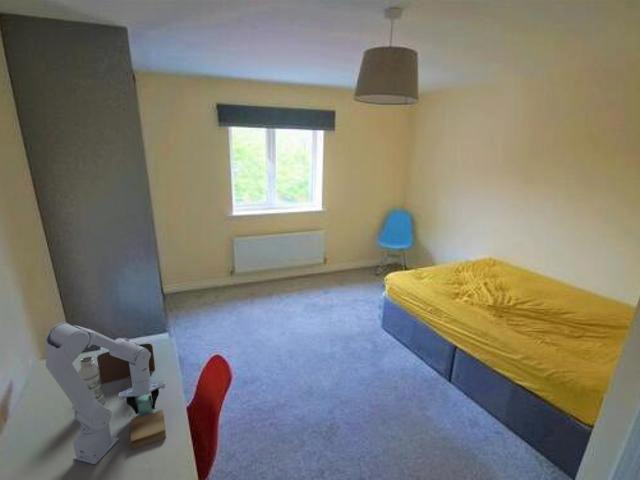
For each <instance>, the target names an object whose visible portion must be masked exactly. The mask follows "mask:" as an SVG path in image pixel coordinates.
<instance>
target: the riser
mask: <svg viewBox="0 0 640 480" xmlns="http://www.w3.org/2000/svg"><path fill="white" fill-rule="evenodd" d="M165 423H166V422H165V414H164V409H161V410H158V411H155V412H154V411H153V413H151V414H148V415H145V416H141V417H139V416H137V417H134V418H132V419H130V446H131V450H133V449H136V448H139V447H142V446H145V445H148V444H151V443H154V442H157V441H159V440H162V439H165V438H167V434H166V424H165Z"/></svg>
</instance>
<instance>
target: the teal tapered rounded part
mask: <svg viewBox="0 0 640 480" xmlns="http://www.w3.org/2000/svg"><path fill="white" fill-rule="evenodd" d="M136 403H137V410H138V414H137V415H138V416H137V417H141V416H145V415H148V414H151V413H154V409H153V406H152V396H151V395H150V394H149V393H147V394H145V395H142V396H138V397H137V399H136Z"/></svg>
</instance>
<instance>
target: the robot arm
mask: <svg viewBox="0 0 640 480" xmlns="http://www.w3.org/2000/svg"><path fill="white" fill-rule="evenodd" d="M44 342H45V346H46V353H45V367H46V369H47V370H48V371H49V373H50V374H51V376H52V377H53V379H54V380H55V381H56V384H58V386H59V387H60V388H61V390H62V391H63V393H64V394H65V395H66V397H67V398H68V399H69V401H70V402H71V404H72V405H73V406H72V407H71V408H72V409H73V411H74V413H73V415H74V419H75V420H76V421H78V422H80V430H79V431H80V432H79V433H78V435H77V436H76V437H75V439H73V442H72V444H73V450H74V457H73V458H74V460H77V461H80V462H81V461H82V462H84V463H87V464H88V463H89V464H92V465H95V464H97V463H98V462H99V461H100V460H101V459H102V458H103V457H104V456H105V455H106V454H107V453H108V452H109V451H110V449H112V448H113V447H114V446H115V444H117V443H118V441H119V440H120V438H119V437H115V436H112V433H111V427H110V422H111V420H112V416H113V413H112V411H111V410H110V409H108V408H106V407H104V404H103V405H101V404H100V403H99V402H98V401H97V400H96V399H95V398H94V396H93V395H92V393H91V392H90V390H89V389H88V387H87V386H86V384H85V383H84V381H83V380H82V378H81V376H80V375H79V373H78V372H79V371H78V370H77V369H76V367H75V366H74V365H73V363H74V362H75V361H76V359H77V358H78V357H79V356H80V355H81V353H82V352H83V351H84V350H85V349H86V348H87V349H89V348H90V347H92V346H93V345H94V346H97V347H100V348H102V349H106V350H108V352H109V353H110V355H111V356H114V357H117V358H120V359H123V360H125V361H129V367H130V373H131V377H130V380H131V386H132V387H129V388H128V389H126V390H123V391H121V392H118V401H119V402H121V401H123V400H124V399H126V403H127V405H128V406H130V408H132V409H133V411H134V414H135V415H138V410H137V403H136V400H137V399H136V398H137V397H140V396H142V395H146V394H149V393H150V394H151V398H152V406H153V410H155V409H156V402H157V400H158V397H159V395H160V391H159V390H160V389H166V382H165V381H166V380H161V381H152V380H151V374H150V373H151V372H149V359H150V357H151V353H150V352H149V350H148V349H146V348H144V347H141V346H139V345H140V343H137V342H131V341H130V339H129V338H127V337H120V338H116V339H112V338H110V337H108V336H106V335H103V334H102V333H99V332H98V331H96V330H93V329H91V328H86V327H84V326H79V325H75V324H74V325H71V323H68V322H60V323H59V322H58V323H57V324H55V325H54V326H53V327H52V328H51V329H50V330H49V331H48V334H47V336H46V337H45V338H44Z"/></svg>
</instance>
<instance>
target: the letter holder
mask: <svg viewBox="0 0 640 480" xmlns="http://www.w3.org/2000/svg"><path fill="white" fill-rule="evenodd" d="M139 346H141V347H144V348H146V349H148V350H149V352H150V353H151V357H150V359H149V373H152V372H155V371H156V366H155V354H154V349H153V348H154V346H153V344H151V343H139ZM96 357H97V358H96V360H97V366H98V368H99V370H100V385H105V384H107V383H113V382H116V381H120V380H124V379H127V378H131V373H130V367H129V361H125V360H123V359H120V358H117V357H114V356H111V355H110V353H109V351H106V352H103V353H101V354H98V355H97V356H96Z"/></svg>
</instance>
